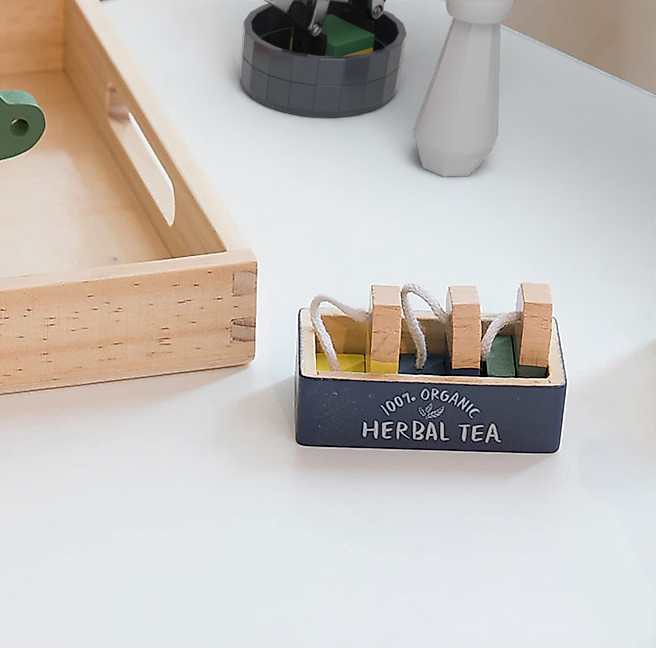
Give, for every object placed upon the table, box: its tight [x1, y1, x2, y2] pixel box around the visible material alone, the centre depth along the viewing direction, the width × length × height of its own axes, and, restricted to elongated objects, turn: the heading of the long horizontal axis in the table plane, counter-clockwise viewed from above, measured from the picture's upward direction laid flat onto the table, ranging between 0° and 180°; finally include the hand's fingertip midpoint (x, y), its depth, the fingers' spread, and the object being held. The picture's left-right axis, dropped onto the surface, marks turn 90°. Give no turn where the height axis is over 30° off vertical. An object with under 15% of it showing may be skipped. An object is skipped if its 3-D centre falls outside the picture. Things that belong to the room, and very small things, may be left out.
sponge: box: [290, 14, 375, 56], centre depth 118 cm, size 4×5×4 cm
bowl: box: [239, 0, 408, 118], centre depth 117 cm, size 12×12×5 cm
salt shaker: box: [412, 0, 515, 178], centre depth 104 cm, size 6×6×13 cm
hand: (328, 70), depth 119 cm, fingers closed on sponge, 4 cm apart
